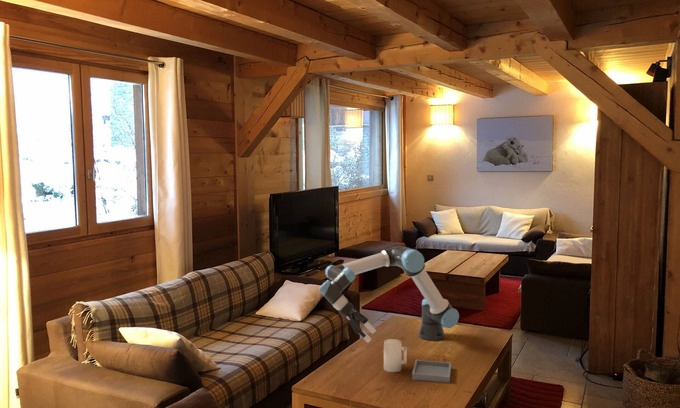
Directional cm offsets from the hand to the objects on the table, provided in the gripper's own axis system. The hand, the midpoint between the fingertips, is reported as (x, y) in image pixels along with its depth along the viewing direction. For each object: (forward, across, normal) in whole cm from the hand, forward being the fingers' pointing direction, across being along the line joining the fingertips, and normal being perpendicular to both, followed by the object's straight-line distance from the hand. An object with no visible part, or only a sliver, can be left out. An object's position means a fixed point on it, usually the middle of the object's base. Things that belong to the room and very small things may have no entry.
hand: (372, 336), depth 289 cm
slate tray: (+33, +2, +10) cm, 35 cm away
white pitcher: (+20, 0, -3) cm, 20 cm away
